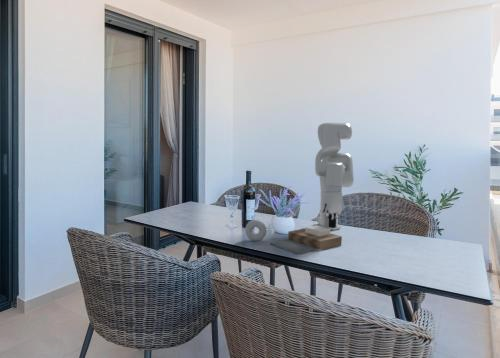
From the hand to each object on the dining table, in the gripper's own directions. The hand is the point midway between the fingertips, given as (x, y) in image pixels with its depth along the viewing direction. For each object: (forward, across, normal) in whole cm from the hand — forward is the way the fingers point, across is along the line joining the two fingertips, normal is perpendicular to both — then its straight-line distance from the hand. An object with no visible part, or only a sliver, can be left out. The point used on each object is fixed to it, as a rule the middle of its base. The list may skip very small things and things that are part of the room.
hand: (332, 227), depth 180 cm
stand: (+6, +12, 0) cm, 13 cm away
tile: (0, +10, 0) cm, 10 cm away
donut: (+6, +33, -17) cm, 37 cm away
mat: (+6, +25, 0) cm, 26 cm away
